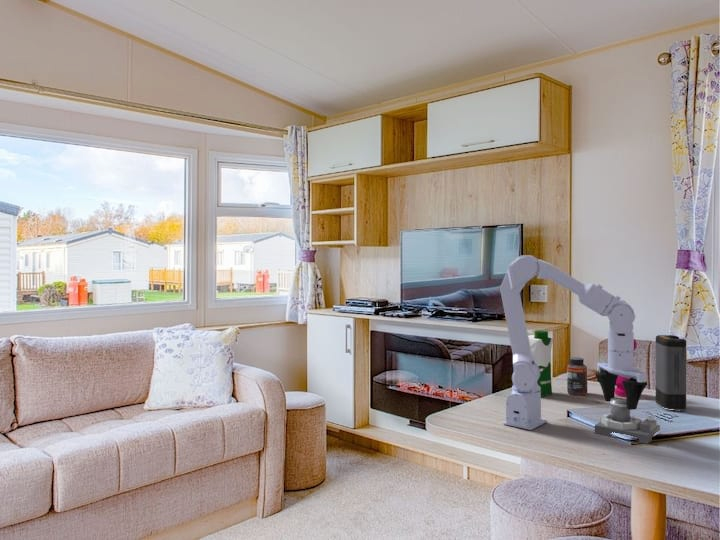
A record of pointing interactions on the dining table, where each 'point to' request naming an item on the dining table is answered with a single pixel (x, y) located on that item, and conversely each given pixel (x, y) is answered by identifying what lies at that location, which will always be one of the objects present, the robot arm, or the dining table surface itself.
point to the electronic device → (671, 372)
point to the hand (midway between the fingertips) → (620, 405)
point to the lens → (619, 410)
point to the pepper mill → (620, 387)
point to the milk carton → (542, 359)
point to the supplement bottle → (577, 377)
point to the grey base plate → (629, 427)
